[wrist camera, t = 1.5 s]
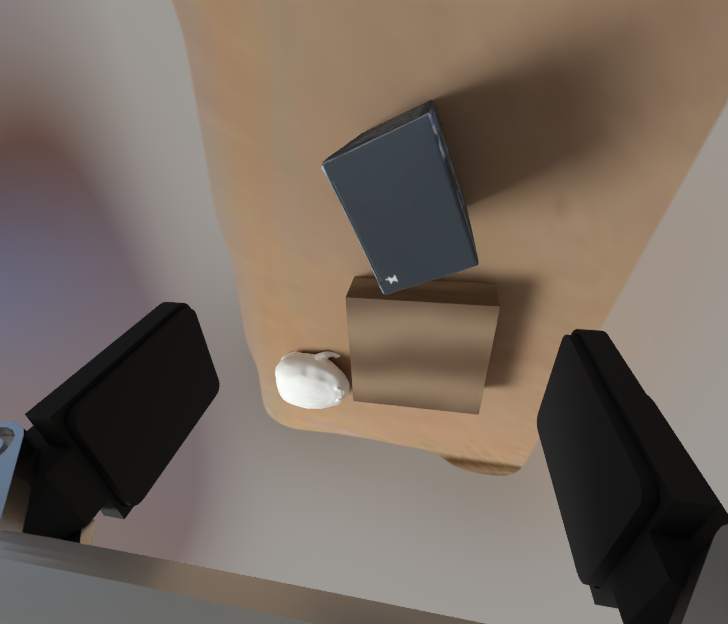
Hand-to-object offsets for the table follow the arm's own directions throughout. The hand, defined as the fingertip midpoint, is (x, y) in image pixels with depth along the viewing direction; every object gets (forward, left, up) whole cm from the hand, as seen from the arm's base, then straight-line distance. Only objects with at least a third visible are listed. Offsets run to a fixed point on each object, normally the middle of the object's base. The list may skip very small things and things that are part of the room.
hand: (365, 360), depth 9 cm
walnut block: (+15, +1, -22) cm, 26 cm away
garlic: (+21, -10, -22) cm, 32 cm away
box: (0, 0, -21) cm, 21 cm away
